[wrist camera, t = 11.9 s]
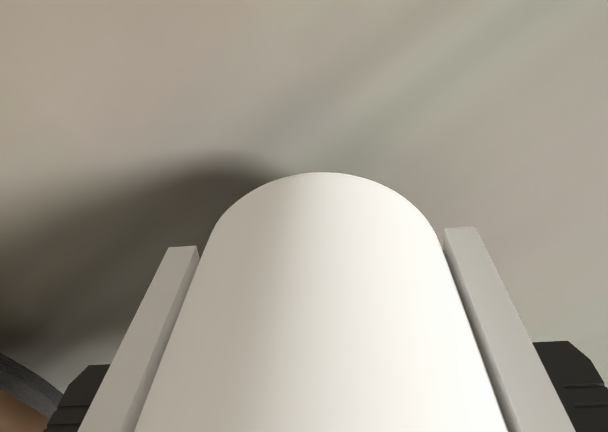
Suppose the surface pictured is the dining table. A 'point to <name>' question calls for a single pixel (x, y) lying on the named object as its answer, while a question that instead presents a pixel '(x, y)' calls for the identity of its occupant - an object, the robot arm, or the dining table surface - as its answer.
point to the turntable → (19, 416)
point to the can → (322, 322)
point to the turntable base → (28, 387)
